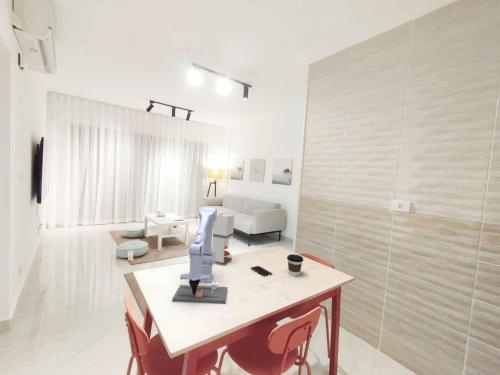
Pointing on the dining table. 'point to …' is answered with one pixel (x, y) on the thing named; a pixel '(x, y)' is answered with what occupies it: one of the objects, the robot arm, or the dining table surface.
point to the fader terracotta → (199, 293)
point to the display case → (222, 237)
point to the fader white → (214, 285)
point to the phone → (261, 271)
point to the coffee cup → (294, 264)
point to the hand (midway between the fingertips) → (194, 293)
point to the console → (208, 296)
